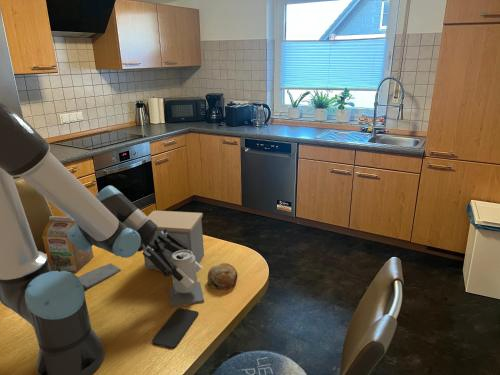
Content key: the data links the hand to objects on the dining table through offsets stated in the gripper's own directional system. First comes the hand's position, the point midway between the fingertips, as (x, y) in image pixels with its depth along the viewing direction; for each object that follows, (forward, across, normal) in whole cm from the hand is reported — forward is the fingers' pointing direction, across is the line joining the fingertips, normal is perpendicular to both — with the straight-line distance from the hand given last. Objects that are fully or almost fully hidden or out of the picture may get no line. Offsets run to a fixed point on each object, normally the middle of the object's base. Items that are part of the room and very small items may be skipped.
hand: (195, 277), depth 115 cm
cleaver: (-24, +1, -34) cm, 42 cm away
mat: (+2, 0, -7) cm, 8 cm away
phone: (+4, +15, -6) cm, 17 cm away
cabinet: (-5, -18, -15) cm, 24 cm away
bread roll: (+9, -9, -1) cm, 13 cm away
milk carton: (-32, -11, -42) cm, 54 cm away
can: (+1, 0, -6) cm, 6 cm away
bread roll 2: (-19, -28, -30) cm, 45 cm away
